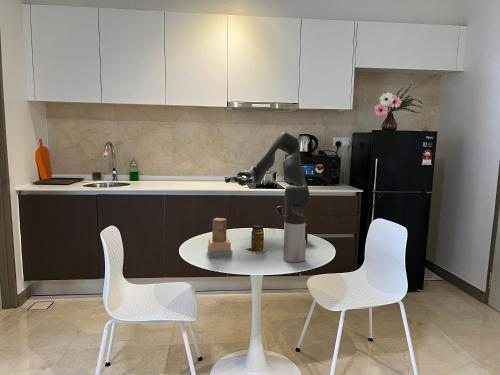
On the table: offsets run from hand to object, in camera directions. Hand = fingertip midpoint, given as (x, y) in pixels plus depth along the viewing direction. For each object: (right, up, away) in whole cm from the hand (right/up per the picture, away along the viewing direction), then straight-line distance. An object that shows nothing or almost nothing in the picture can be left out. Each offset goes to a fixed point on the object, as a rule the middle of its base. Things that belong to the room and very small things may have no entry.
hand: (234, 181), depth 191 cm
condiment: (+11, -34, -6) cm, 36 cm away
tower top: (-6, -31, -13) cm, 34 cm away
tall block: (-6, -28, -14) cm, 31 cm away
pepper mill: (+29, -31, +12) cm, 45 cm away
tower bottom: (-6, -35, -13) cm, 38 cm away
